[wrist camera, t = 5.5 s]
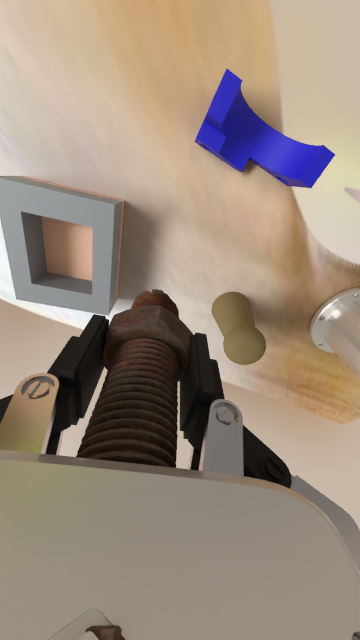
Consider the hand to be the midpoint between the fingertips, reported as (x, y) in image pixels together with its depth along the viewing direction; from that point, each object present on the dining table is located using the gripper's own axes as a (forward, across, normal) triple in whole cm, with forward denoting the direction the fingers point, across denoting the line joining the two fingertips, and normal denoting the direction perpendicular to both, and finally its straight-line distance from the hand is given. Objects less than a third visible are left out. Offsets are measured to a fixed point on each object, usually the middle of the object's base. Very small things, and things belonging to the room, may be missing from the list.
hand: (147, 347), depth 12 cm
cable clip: (+23, -7, -12) cm, 27 cm away
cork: (+22, -12, +8) cm, 27 cm away
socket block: (+22, +12, +3) cm, 25 cm away
